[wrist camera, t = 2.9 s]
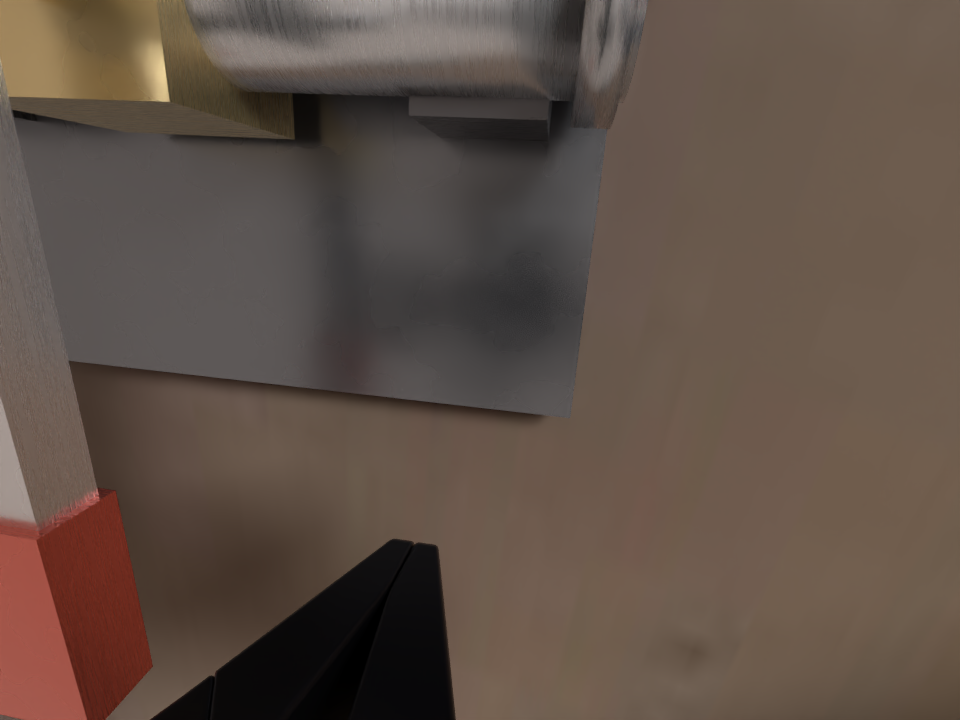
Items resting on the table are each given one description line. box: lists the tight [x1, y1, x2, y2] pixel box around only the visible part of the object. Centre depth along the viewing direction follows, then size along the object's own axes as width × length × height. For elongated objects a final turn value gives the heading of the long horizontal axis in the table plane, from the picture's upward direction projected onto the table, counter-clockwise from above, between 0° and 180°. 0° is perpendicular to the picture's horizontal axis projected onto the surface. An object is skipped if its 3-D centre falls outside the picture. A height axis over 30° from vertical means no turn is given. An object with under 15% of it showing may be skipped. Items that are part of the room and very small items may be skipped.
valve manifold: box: [0, 0, 648, 418], centre depth 11 cm, size 22×20×8 cm
